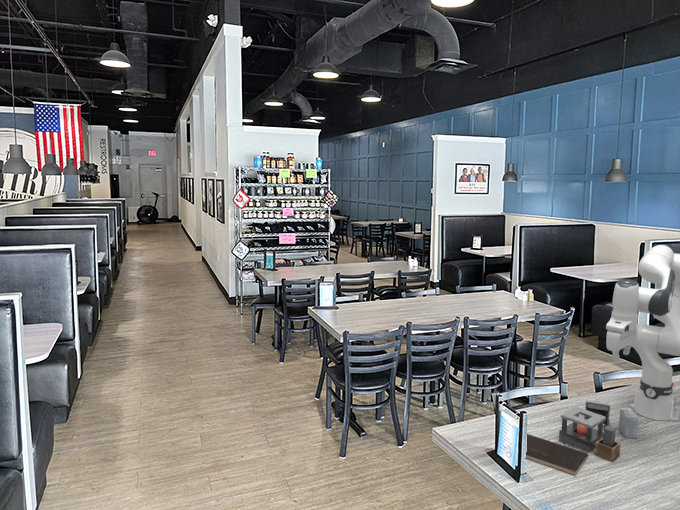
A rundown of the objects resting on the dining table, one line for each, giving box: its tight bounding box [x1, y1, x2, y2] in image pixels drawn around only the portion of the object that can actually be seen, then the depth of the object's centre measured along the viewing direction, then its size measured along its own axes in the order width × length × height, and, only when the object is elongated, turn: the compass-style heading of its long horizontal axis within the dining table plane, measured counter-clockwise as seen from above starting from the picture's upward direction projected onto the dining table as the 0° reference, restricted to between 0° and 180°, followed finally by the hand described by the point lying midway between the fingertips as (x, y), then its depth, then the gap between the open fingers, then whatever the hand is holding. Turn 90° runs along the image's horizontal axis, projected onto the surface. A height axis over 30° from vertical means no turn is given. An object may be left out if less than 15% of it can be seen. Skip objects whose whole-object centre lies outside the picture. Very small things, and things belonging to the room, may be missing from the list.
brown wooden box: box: [594, 438, 621, 463], centre depth 188 cm, size 6×6×5 cm
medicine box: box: [618, 408, 639, 439], centre depth 204 cm, size 8×4×9 cm, turn 168°
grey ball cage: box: [558, 405, 606, 454], centre depth 197 cm, size 12×12×11 cm
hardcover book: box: [526, 433, 589, 476], centre depth 188 cm, size 16×23×2 cm
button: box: [577, 424, 587, 436], centre depth 198 cm, size 4×4×5 cm
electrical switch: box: [583, 400, 611, 426], centre depth 213 cm, size 9×5×9 cm, turn 64°
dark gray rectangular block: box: [603, 425, 616, 448], centre depth 187 cm, size 3×3×10 cm
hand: (621, 357), depth 196 cm, fingers open, 8 cm apart
